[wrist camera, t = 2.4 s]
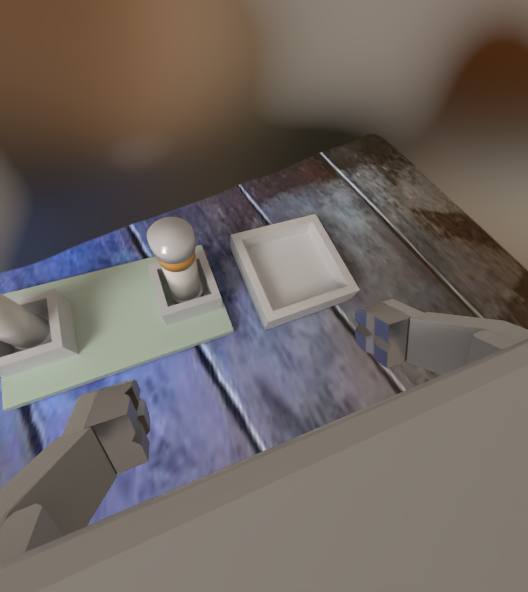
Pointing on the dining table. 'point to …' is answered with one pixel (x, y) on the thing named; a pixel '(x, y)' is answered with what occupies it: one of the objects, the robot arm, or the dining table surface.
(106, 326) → the fuse board
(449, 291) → the dining table surface
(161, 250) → the orange-banded cylinder plug
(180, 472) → the dining table surface
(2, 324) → the peg
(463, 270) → the dining table surface
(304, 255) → the parts tray
